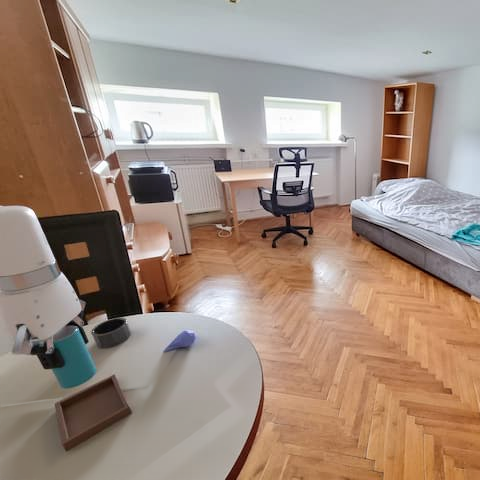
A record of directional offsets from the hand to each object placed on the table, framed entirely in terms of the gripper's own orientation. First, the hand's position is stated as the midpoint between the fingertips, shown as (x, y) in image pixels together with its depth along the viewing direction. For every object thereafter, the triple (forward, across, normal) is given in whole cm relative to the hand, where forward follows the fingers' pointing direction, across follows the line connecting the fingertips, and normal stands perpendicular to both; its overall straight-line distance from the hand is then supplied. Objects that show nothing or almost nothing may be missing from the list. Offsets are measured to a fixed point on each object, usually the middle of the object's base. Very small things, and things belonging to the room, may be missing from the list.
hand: (67, 354), depth 57 cm
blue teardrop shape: (+16, -19, +11) cm, 27 cm away
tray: (+16, 0, 0) cm, 16 cm away
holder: (+16, -25, -10) cm, 31 cm away
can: (+6, 0, 0) cm, 6 cm away
